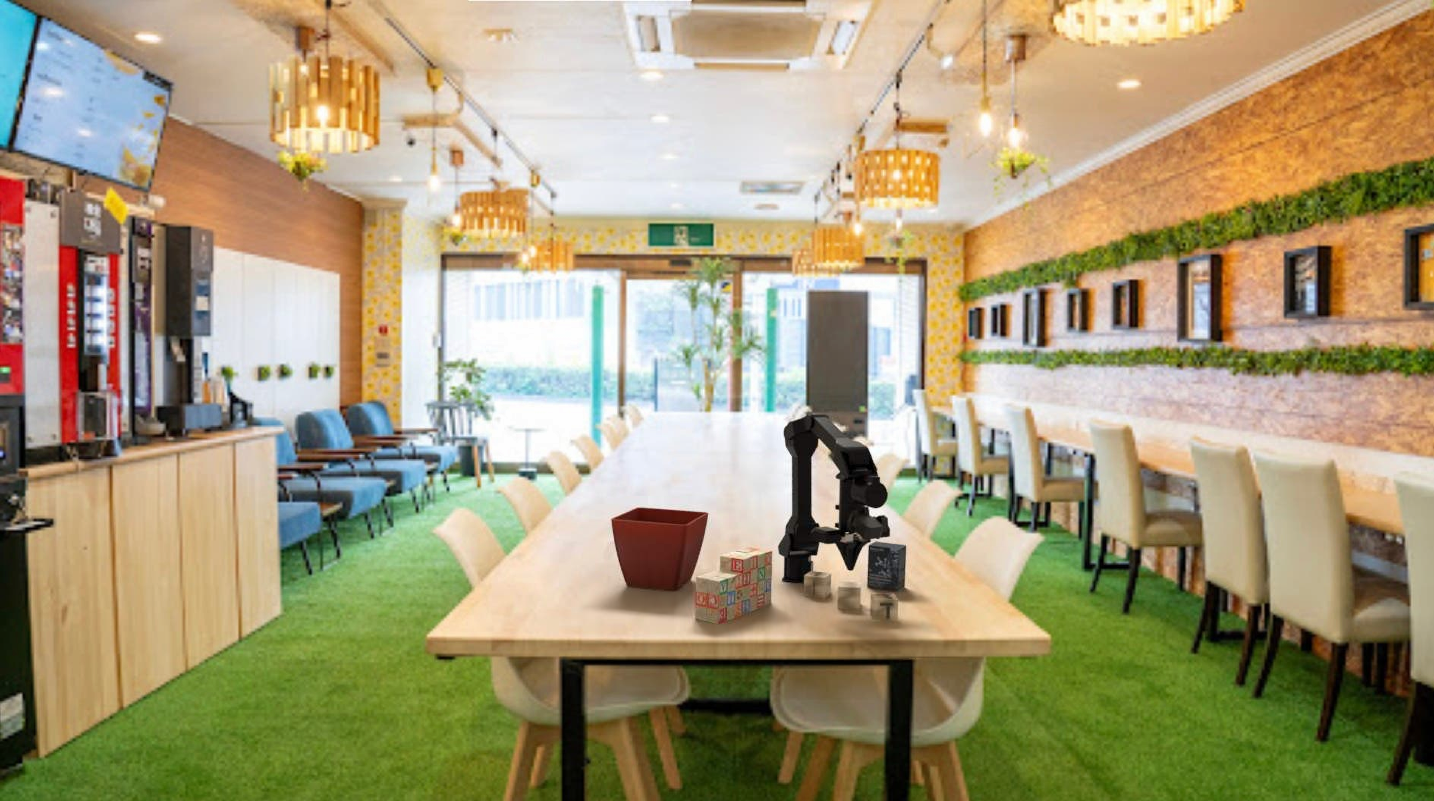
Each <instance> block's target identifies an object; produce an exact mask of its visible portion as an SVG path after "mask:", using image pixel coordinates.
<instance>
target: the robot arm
mask: <svg viewBox="0 0 1434 801" xmlns="http://www.w3.org/2000/svg"><path fill="white" fill-rule="evenodd" d="M783 438H784V444H785V447H786V449H787V451H788V453H789V454H790V456H791V516H790V517H789V519H788V521H787V523H786V525H785V529H784V530H785V531H784V535H783V537H782V539H781V540H780V542H779V544H778V545H777V550H778V555H779V556H782V557H783V577H781V581H782V582H793V583H803V584H804V575H806V574H807V573H809V572H810V571H814V560H812V556H813V557H814V556H815V557H816V556H818V552H819V549H820V548H819V547H820V543H821V544H824V545H833V544H834V545H835V546H836V547H837V550H838V551H839V553H840V556H841V558H842V560H843V562H844V564H845V567H846V570H847V571H850V572H851V571H854V570H855V567H856V564H857V561H858V559H859V556H860V553H861V551H862V550H863V548H864V547H865V546H866V545H868V543H870V544H871V542H872V540H875V539H876V540H880V539H882V538H889V537H891V528H890V526H889V518H888V517H887V516H886V515H885V514H881V515H877V516H875V515H874V516H871V514H870V509H869V508H872V509H880V508H881V507H883V506H884V505H886V502H887V500H888V497H889V492H888V491H887V487H886V485H884V484H883V483H882V482H881V476H879V473H878V467H877V465H876V464H875V460H874V459H873V455H872V453H871V451H870V448H868V446H867V445H865V444H864V443H862V442H860V441H856V440H853V439H851V438H849V437H848V436H847V435H846V434H845V433H843V431H841V429H839V428H838V426H836V424H835V423H833V421H831V420H830V417H829V415H828V414H826V413H823V412H822V413H817V412H816V413H814V412H813V413H808V414H806V415H805V416H803V417H801V418H798V419H795V420H792V421H791V420H790V421H789V422H788V423H787V424H786V425H785V426H784V428H783ZM819 440H820V441H821V443H822V444H823V445H824V446H825V447H826V448H827V449H828V450H829V451H830V452H831V454H832V458H831V459H832V462H833V464H834V465H835V466H836V468H837V470H839V472H838V473H836V475H835V479H837V480H839V493H838V494H839V497H838V504H835V505H834V506H835V507H834V508H835V510H838V522H834V527H830V526H820V523H818V522H816V520H815V518H814V517H813V511H812V510H813V509H812V508H813V507H812V506H813V504H812V503H813V502H812V501H813V498H812V494H813V492H812V491H813V490H812V486H813V485H812V484H813V482H812V480H813V479H812V478H813V476H812V472H813V470H812V468H813V466H812V464H813V463H812V461H813V460H812V458H813V455H814V454H815V452H816V450H817V449H818V447H819Z"/></svg>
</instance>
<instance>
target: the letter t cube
mask: <svg viewBox="0 0 1434 801" xmlns="http://www.w3.org/2000/svg"><path fill="white" fill-rule="evenodd" d="M869 609H870V611H869V615H870V618H871V619H872V620H873V622H874V623H898V622H899V619H898V618H899V599H898V597H897V596H896V595H895V593H880V592H879V593H878V592H877V593H876V592H875V593H873V592H872V593H870V608H869Z"/></svg>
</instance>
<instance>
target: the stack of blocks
mask: <svg viewBox="0 0 1434 801" xmlns="http://www.w3.org/2000/svg"><path fill="white" fill-rule="evenodd" d="M772 563H773V550H770V549H769V550H768V549H763V548H756V547H746V548H740V549H736V550H734V551H731V552H729V553H728V552H727V553H725V554H721V555H720V556H719V569H717V570H714V571H710V572H707V573H705V574H702V575H698V576H696V577H695V594H694V595H695V598H694V599H695V600H694V619H695V620H698V621H702V622H707V623H712V624H722V623H724V622H727V621H730V620H732V619H735V618H737V617H740V616H742V615H744V614H746V613H749V612H752V611H754V610H757V609H759V608H763V607H765V606H767V605H770V604H772V577H773V564H772ZM726 620H727V621H726Z"/></svg>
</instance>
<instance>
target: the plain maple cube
mask: <svg viewBox="0 0 1434 801" xmlns="http://www.w3.org/2000/svg"><path fill="white" fill-rule="evenodd" d="M861 590H862V582H858V581H844V580H843V581H841V580H839V581H838V583H837V606H836V607H837V609H842V610H857V611H860V610H861V603H862V602H861V600H862V598H861V597H862V596H861V594H862V593H861V592H862V591H861Z"/></svg>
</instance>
